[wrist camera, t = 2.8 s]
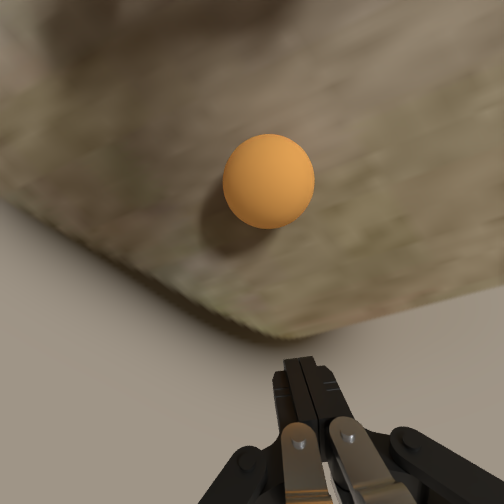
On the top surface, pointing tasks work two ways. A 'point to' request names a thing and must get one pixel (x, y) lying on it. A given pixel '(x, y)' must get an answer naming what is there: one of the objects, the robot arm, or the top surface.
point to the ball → (268, 181)
